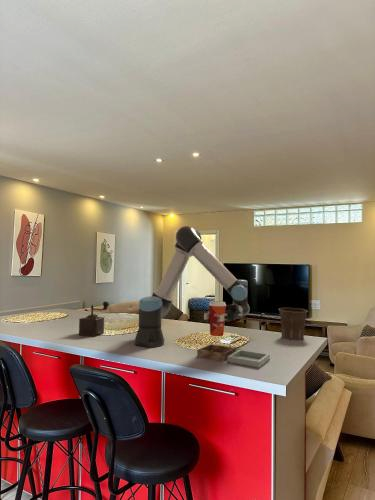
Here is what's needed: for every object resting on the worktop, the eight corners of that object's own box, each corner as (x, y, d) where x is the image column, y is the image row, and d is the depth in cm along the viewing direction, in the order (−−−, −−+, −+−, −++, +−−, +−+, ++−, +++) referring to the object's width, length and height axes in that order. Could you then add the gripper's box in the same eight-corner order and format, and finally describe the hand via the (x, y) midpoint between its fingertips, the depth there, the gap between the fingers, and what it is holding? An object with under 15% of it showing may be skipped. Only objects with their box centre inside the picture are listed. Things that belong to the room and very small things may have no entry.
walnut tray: (197, 356, 153) (197, 349, 154) (210, 350, 165) (210, 343, 165) (223, 361, 147) (223, 354, 147) (235, 354, 158) (235, 347, 158)
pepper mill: (95, 337, 187) (96, 304, 188) (78, 335, 190) (79, 303, 191) (110, 331, 202) (110, 301, 203) (93, 330, 205) (94, 300, 206)
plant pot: (309, 341, 188) (309, 312, 188) (279, 339, 191) (279, 310, 192) (305, 335, 204) (305, 308, 204) (277, 333, 207) (277, 307, 207)
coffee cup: (215, 337, 150) (216, 303, 151) (204, 334, 157) (204, 301, 158) (229, 335, 155) (230, 302, 156) (217, 332, 162) (218, 300, 162)
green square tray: (227, 362, 145) (227, 356, 146) (239, 354, 158) (239, 349, 158) (259, 368, 138) (259, 361, 138) (269, 359, 150) (269, 354, 150)
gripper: (251, 321, 167) (233, 328, 147) (214, 317, 177) (192, 323, 157) (251, 305, 167) (233, 311, 147) (215, 302, 177) (193, 307, 157)
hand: (212, 317), depth 152 cm, fingers closed on coffee cup, 7 cm apart
